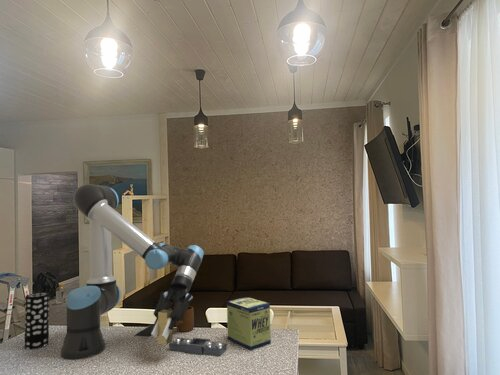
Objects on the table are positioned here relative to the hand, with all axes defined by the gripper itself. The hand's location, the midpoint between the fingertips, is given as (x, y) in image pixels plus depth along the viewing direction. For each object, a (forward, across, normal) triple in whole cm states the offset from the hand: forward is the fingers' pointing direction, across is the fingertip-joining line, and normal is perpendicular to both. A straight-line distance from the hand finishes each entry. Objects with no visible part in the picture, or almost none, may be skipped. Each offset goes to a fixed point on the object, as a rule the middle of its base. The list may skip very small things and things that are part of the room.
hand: (158, 336), depth 121 cm
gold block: (0, 0, -5) cm, 5 cm away
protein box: (-13, -24, -25) cm, 37 cm away
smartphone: (-12, +22, -26) cm, 36 cm away
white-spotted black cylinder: (+7, +58, -8) cm, 59 cm away
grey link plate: (-4, -8, -16) cm, 18 cm away
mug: (-15, +8, -28) cm, 33 cm away
